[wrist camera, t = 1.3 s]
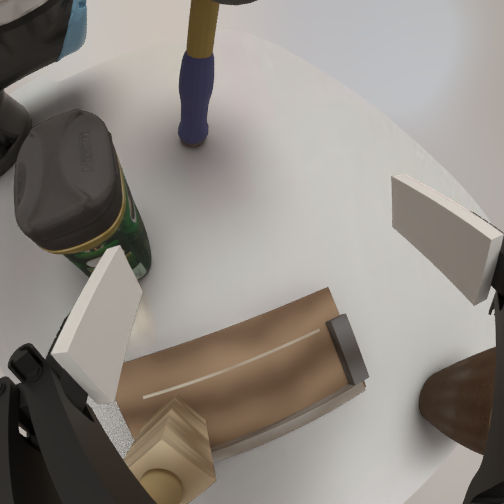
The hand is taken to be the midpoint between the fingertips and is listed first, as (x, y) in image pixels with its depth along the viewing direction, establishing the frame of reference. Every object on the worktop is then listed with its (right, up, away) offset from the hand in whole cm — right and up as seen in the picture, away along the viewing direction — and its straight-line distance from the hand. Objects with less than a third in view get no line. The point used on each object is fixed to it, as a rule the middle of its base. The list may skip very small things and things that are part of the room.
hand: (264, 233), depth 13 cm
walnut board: (-2, -15, +16) cm, 22 cm away
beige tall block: (-8, -18, +12) cm, 23 cm away
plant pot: (+27, -22, +20) cm, 40 cm away
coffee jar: (-16, 0, +18) cm, 24 cm away
